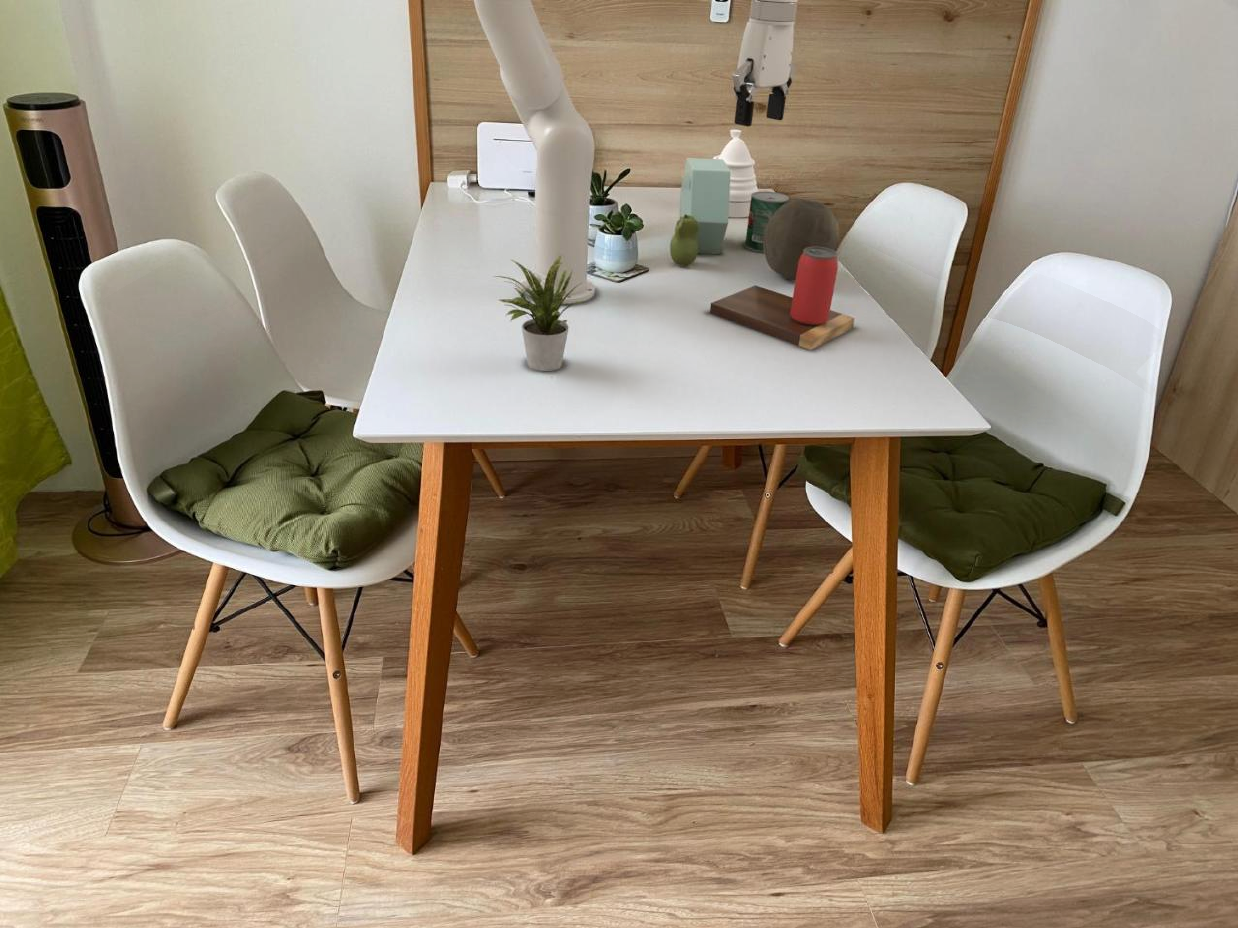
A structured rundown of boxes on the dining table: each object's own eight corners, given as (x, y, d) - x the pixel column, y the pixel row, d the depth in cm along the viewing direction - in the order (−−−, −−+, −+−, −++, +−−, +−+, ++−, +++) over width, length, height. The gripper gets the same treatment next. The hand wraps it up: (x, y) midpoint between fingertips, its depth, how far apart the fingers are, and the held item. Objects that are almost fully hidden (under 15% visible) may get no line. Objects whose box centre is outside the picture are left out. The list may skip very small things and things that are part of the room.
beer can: (801, 309, 161) (812, 242, 154) (834, 319, 157) (847, 252, 151) (782, 319, 156) (793, 251, 150) (816, 330, 153) (828, 261, 147)
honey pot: (696, 202, 225) (704, 126, 215) (746, 202, 227) (756, 127, 218) (710, 217, 214) (719, 138, 205) (762, 217, 216) (773, 139, 207)
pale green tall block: (715, 270, 196) (733, 204, 177) (679, 268, 195) (694, 203, 177) (711, 208, 203) (728, 139, 184) (676, 207, 202) (690, 137, 184)
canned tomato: (742, 240, 200) (748, 190, 194) (777, 242, 200) (784, 192, 195) (747, 252, 193) (754, 200, 187) (784, 253, 194) (792, 202, 188)
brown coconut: (810, 295, 173) (823, 216, 165) (746, 276, 180) (756, 200, 172) (842, 277, 183) (856, 202, 175) (780, 260, 190) (791, 187, 182)
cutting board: (810, 350, 150) (812, 339, 149) (709, 313, 162) (710, 303, 161) (852, 328, 160) (854, 317, 159) (753, 295, 171) (755, 285, 170)
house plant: (508, 338, 148) (507, 239, 139) (592, 346, 147) (596, 247, 138) (488, 375, 136) (485, 270, 127) (579, 384, 135) (583, 279, 126)
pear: (690, 259, 187) (694, 211, 182) (700, 268, 183) (705, 219, 177) (665, 261, 185) (669, 212, 180) (675, 270, 181) (679, 220, 176)
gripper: (782, 9, 157) (768, 113, 166) (723, 12, 146) (712, 123, 155) (819, 14, 153) (803, 120, 162) (762, 17, 142) (748, 131, 151)
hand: (758, 122), depth 159 cm, fingers open, 9 cm apart
